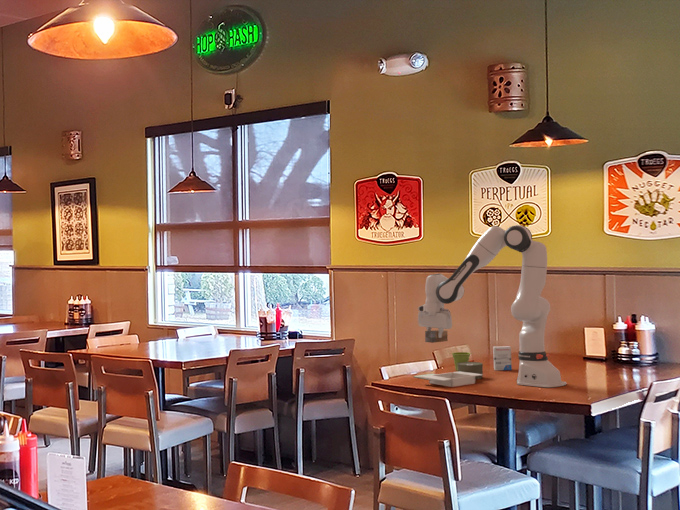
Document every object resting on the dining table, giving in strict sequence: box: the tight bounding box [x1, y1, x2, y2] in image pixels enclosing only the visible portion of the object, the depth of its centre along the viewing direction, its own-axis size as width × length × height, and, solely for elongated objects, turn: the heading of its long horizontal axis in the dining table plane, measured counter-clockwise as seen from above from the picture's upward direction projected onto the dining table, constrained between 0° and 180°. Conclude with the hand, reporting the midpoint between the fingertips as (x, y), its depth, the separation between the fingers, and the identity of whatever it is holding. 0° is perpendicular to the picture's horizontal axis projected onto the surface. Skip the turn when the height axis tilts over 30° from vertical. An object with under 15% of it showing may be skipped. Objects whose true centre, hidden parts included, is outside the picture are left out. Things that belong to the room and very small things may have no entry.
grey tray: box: [420, 371, 484, 388], centre depth 368 cm, size 15×25×4 cm, turn 125°
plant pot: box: [451, 351, 471, 372], centre depth 409 cm, size 9×9×9 cm
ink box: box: [492, 345, 513, 371], centre depth 408 cm, size 9×5×12 cm, turn 84°
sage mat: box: [413, 373, 437, 381], centre depth 388 cm, size 12×12×1 cm
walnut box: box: [424, 329, 448, 344], centre depth 382 cm, size 5×10×5 cm, turn 126°
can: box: [457, 361, 484, 380], centre depth 384 cm, size 12×12×7 cm
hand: (435, 337), depth 381 cm, fingers closed on walnut box, 4 cm apart
